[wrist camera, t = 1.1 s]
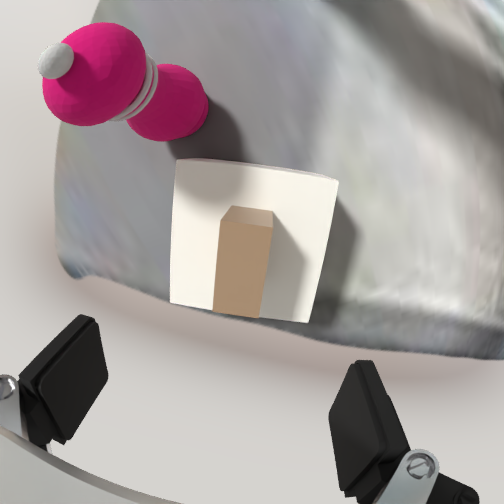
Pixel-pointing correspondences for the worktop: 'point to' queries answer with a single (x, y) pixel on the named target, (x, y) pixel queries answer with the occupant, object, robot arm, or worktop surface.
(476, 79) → the worktop surface
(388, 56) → the worktop surface
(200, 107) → the pepper mill
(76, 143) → the worktop surface
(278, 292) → the cover
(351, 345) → the worktop surface
